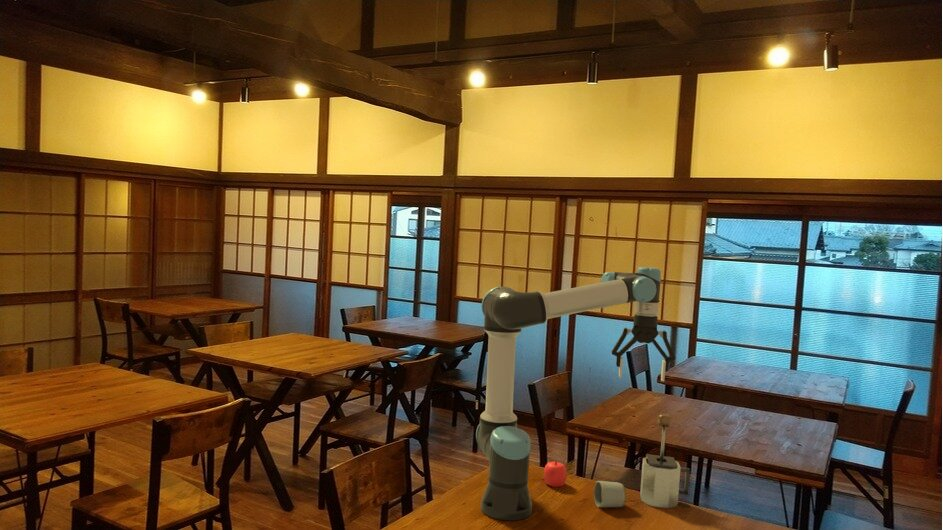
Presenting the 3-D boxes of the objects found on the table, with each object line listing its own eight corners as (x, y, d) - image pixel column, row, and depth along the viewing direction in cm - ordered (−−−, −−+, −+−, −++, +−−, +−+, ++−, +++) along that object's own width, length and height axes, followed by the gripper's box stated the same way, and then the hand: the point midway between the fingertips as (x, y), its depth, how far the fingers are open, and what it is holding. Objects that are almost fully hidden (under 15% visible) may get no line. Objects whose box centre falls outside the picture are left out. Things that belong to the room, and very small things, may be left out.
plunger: (649, 473, 205) (653, 417, 204) (647, 464, 213) (651, 411, 212) (674, 476, 204) (679, 420, 203) (671, 467, 212) (676, 413, 211)
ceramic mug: (626, 511, 200) (628, 486, 200) (601, 511, 199) (602, 486, 198) (613, 497, 211) (614, 473, 210) (588, 497, 209) (590, 473, 209)
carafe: (642, 505, 205) (645, 464, 204) (639, 492, 215) (642, 452, 215) (689, 511, 202) (692, 469, 201) (684, 497, 213) (687, 457, 212)
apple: (538, 480, 221) (540, 456, 220) (561, 479, 223) (562, 456, 222) (547, 489, 213) (549, 465, 213) (570, 488, 215) (572, 464, 215)
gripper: (607, 312, 214) (603, 377, 216) (687, 319, 211) (682, 384, 212) (606, 310, 222) (602, 372, 223) (683, 316, 218) (678, 379, 219)
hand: (641, 378), depth 217 cm, fingers open, 13 cm apart
